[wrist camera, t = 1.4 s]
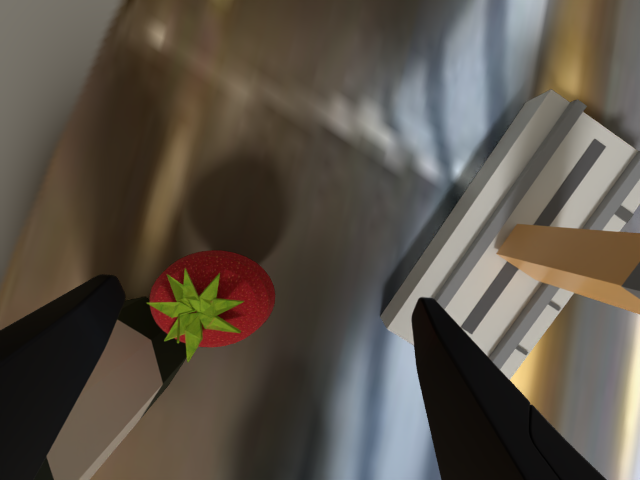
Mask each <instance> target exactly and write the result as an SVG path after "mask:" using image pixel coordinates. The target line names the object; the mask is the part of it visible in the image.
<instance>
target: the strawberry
mask: <svg viewBox="0 0 640 480" xmlns="http://www.w3.org/2000/svg"><path fill="white" fill-rule="evenodd" d="M147 304H149V305H150V310H151V314H152V316H153V318H154V320H155V322H156V323H157V324H158V325H159V327H160V328H161V329H162V330H163V331H164V332H166V333H167V334H168V335H167V337H166V338H165V340H164V341H168V340H170V339H173V338H175V339H176V340H177V343H179V341H181V342H183V343H186V354H187V362H189V361H190V359H191V357H192V356H193V354H194V352H195V351H196V349H197V347H198V346H199V347H219V346H226V345H229V344H233V343H236V342H238V341H240V340H243V339H245V338H246V337H248V336H249V335H251V334H252V333H254V332H255V331H256V330H257V329H258V328H259V327H260V326H261V325H262V324H263V323H264V322H265V321H266V320H267V319H268V317H269V316H270V314H271V313H272V310H273V307H274V304H275V291H274V286H273V283H272V281H271V279H270V277H269V276H268V274H267V273H266V272H265V270H264V269H263V268H262V267H261V266H259V265H258V264H257V263H256V262H254V261H253V260H251V259H249V258H247V257H245V256H242V255H239V254H237V253H232V252H227V251H215V250H211V251H202V252H197V253H194V254H190V255H187V256H185V257H183V258H181V259H179V260H177V261H176V262H175V263H173V264H172V265H170V266H169V267H168V268H167V269H166V270H165V271H164V272H163V273H162V274H161V275H160V276H159V277H158V278H157V280H156V282H155V283H154V285H153V287H152V290H151V293H150V302H149V303H147Z"/></svg>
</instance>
